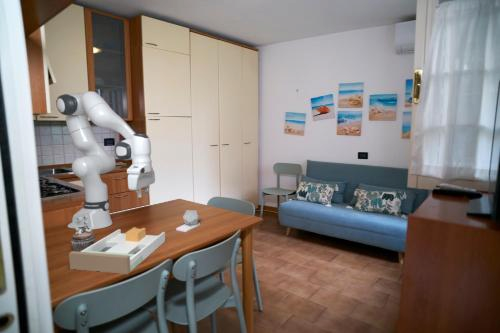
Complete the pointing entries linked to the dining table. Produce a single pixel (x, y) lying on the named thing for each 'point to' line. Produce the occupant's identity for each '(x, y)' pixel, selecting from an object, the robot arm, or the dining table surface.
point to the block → (135, 234)
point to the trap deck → (115, 253)
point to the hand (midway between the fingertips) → (143, 195)
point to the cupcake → (82, 238)
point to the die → (191, 217)
